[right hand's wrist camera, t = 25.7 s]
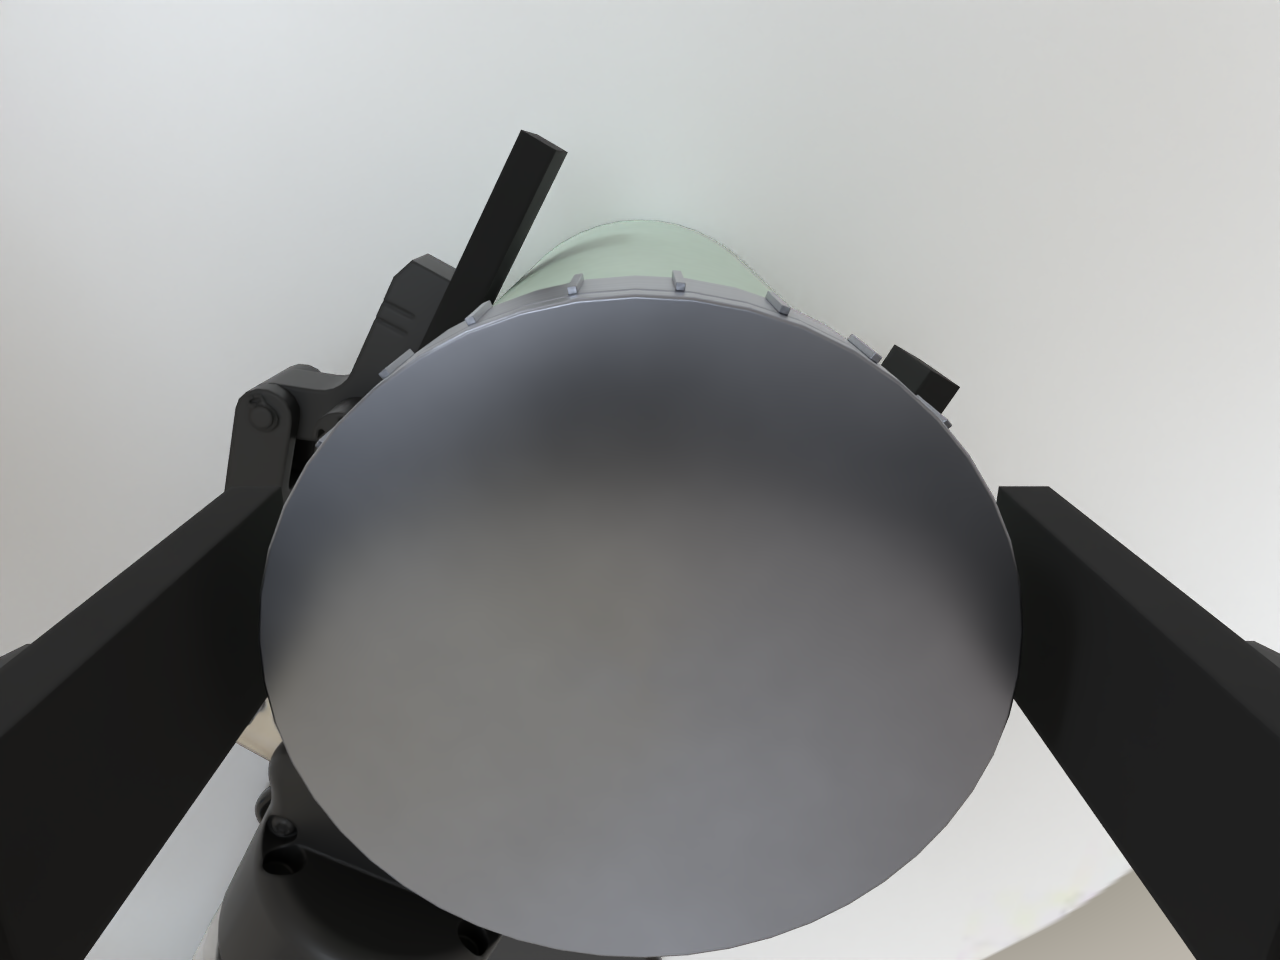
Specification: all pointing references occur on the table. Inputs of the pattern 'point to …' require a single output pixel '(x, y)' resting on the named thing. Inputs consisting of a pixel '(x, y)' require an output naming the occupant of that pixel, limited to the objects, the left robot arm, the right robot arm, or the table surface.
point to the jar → (639, 258)
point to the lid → (640, 619)
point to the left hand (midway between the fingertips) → (743, 258)
